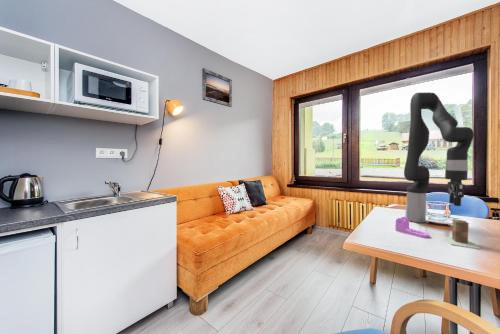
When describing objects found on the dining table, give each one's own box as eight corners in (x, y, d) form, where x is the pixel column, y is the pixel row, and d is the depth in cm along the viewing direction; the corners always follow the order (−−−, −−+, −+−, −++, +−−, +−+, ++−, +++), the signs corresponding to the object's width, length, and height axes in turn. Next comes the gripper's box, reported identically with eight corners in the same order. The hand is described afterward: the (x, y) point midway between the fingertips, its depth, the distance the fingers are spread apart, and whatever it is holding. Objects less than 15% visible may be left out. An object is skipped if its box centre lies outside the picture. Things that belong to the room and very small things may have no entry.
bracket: (395, 230, 108) (395, 217, 108) (400, 228, 111) (401, 216, 111) (426, 239, 97) (426, 224, 97) (431, 236, 100) (431, 222, 100)
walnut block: (455, 241, 92) (456, 221, 92) (452, 238, 96) (452, 219, 96) (467, 243, 90) (468, 223, 90) (464, 240, 94) (464, 220, 94)
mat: (450, 244, 90) (451, 243, 90) (443, 237, 99) (443, 236, 99) (480, 249, 86) (480, 248, 86) (470, 240, 94) (470, 240, 94)
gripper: (474, 170, 91) (472, 208, 91) (461, 169, 103) (459, 202, 104) (450, 169, 94) (449, 206, 95) (441, 168, 107) (440, 201, 108)
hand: (454, 204), depth 100 cm, fingers open, 5 cm apart
